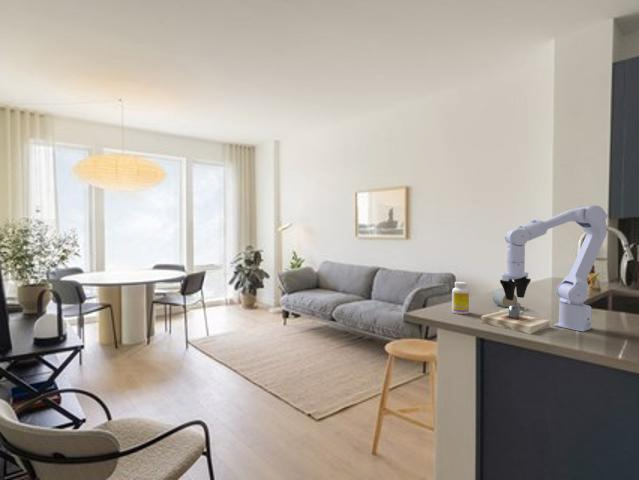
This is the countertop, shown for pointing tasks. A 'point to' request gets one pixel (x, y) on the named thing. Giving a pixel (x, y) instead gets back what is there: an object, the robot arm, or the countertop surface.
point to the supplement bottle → (460, 298)
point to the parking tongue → (508, 311)
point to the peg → (514, 312)
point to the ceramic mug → (503, 299)
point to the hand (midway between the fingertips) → (515, 298)
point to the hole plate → (515, 322)
